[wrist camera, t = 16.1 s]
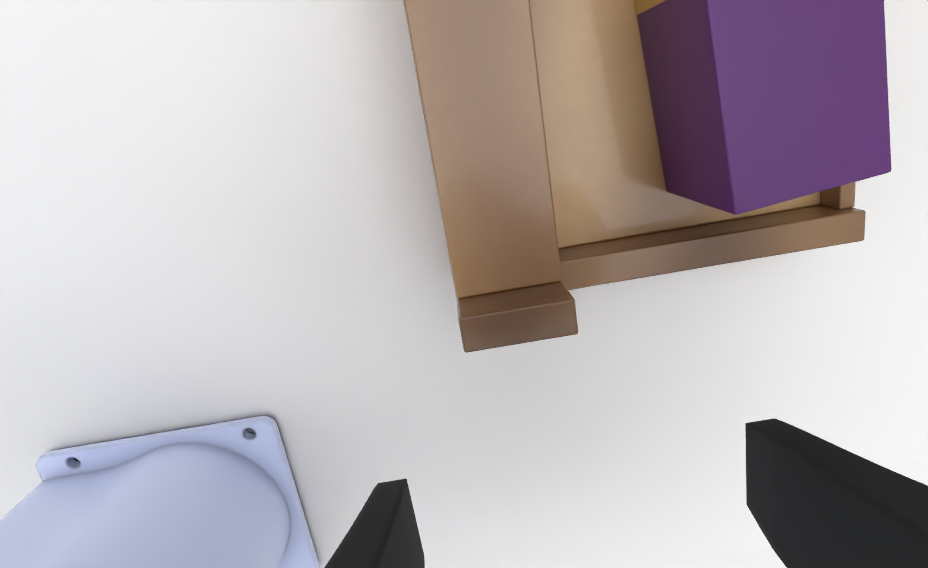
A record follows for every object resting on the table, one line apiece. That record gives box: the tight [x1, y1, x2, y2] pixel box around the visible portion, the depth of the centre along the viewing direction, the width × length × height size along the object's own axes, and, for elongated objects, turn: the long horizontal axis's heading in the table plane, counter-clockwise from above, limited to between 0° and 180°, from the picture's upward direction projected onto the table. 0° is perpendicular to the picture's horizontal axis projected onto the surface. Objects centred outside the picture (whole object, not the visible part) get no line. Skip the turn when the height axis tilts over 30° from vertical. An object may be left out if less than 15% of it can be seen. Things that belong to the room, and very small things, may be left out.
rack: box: [404, 0, 865, 352], centre depth 15 cm, size 13×14×6 cm
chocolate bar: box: [634, 0, 891, 215], centre depth 15 cm, size 4×9×5 cm, turn 16°
